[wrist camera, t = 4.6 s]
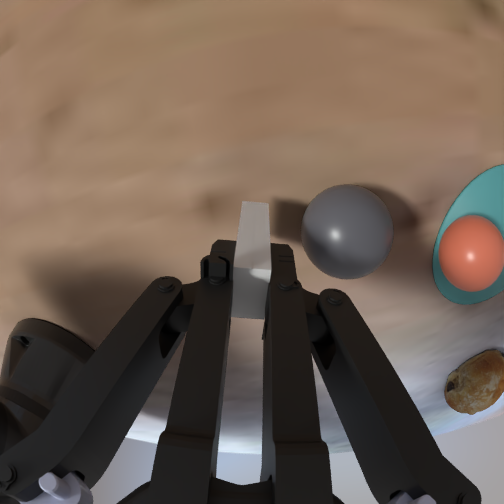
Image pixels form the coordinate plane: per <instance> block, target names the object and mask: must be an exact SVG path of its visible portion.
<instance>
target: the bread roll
mask: <svg viewBox="0 0 504 504" xmlns="http://www.w3.org/2000/svg"><path fill="white" fill-rule="evenodd" d="M447 380H448V381H447V384H446V388H445V391H444V392H445V393H444V395H445V399H446V402H447V403H448V405H449V406H450V407H451V408H452V409H454V410H456V411H457V412H460V413H468V414H470V415H473V414H475V413H476V412H479V411H483V410H485V409H487V408H488V407H490V406H491V405H493V404H494V403H495V402H496V401H497V400H498V399H499V397H500V396H501V395H502V393H503V392H504V353H500V351H498V350H486V351H484V352H483V353H481V354H478V355H476V356H474V357H472V358H471V359H469V360H467V361H466V362H464V363H463V364H462V365H461V366H460V367H459V368H458V369H457V370H455V371H453V372H451V374H450V375H449V377H448V379H447Z"/></svg>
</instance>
